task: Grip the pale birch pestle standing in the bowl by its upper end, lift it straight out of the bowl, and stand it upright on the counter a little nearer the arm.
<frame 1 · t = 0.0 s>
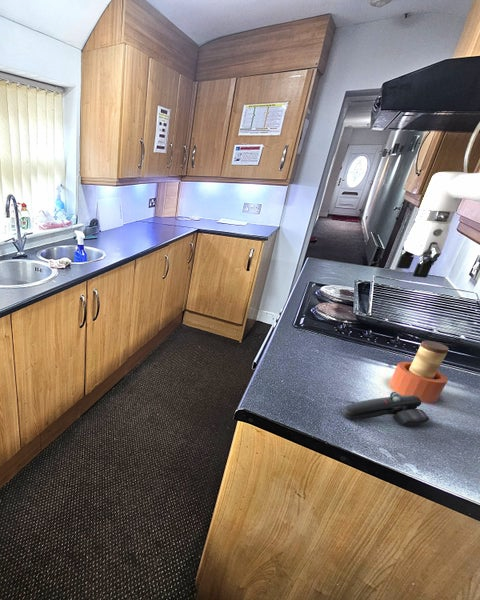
hand: (410, 272, 102), 24 cm above the worktop, tool pointing down, fingers open, 9 cm apart
can opener: (378, 417, 76), on the worktop
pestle: (411, 392, 84), point 1 cm above the worktop, touching bowl
bowl: (410, 394, 85), on the worktop
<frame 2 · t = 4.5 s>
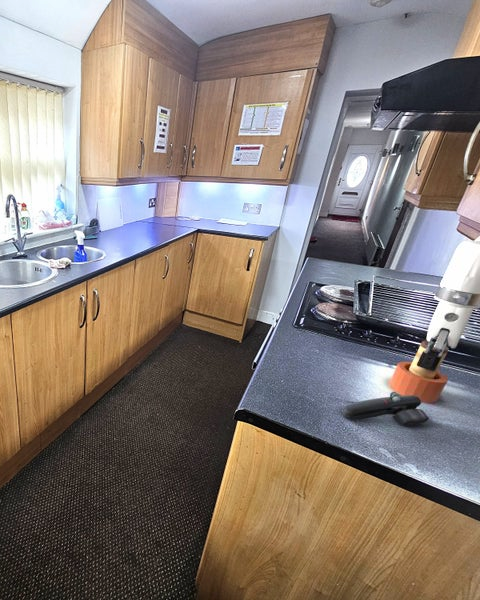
hand: (426, 363, 81), 9 cm above the worktop, tool pointing down, fingers closed on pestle, 4 cm apart
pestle: (411, 392, 84), point 1 cm above the worktop, touching gripper, bowl
everything else where it was.
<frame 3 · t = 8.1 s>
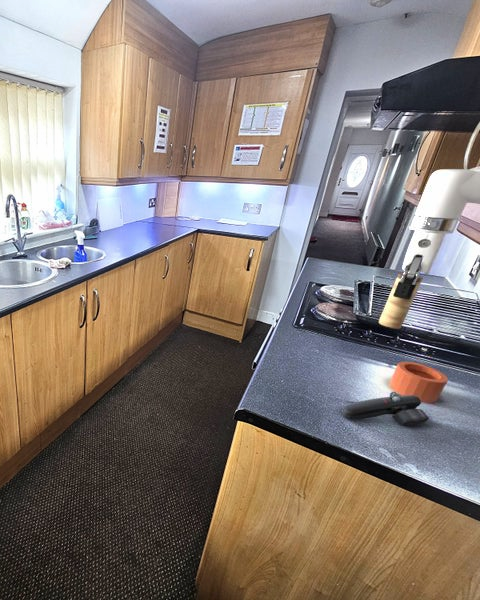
hand: (402, 294, 85), 24 cm above the worktop, tool pointing down, fingers closed on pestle, 4 cm apart
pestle: (389, 324, 88), point 15 cm above the worktop, touching gripper
everything else where it was.
when the fingers open (9 cm above the worktop, at t = 11.7 s): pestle stays where it is, on the worktop.
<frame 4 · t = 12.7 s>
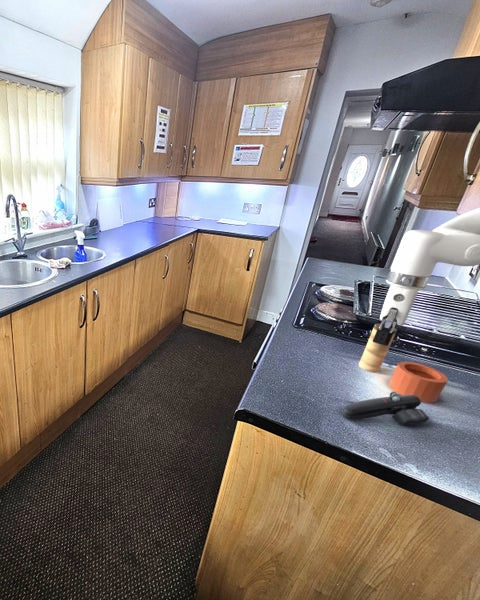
hand: (382, 337, 90), 11 cm above the worktop, tool pointing down, fingers open, 9 cm apart
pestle: (367, 370, 94), on the worktop
everything else where it was.
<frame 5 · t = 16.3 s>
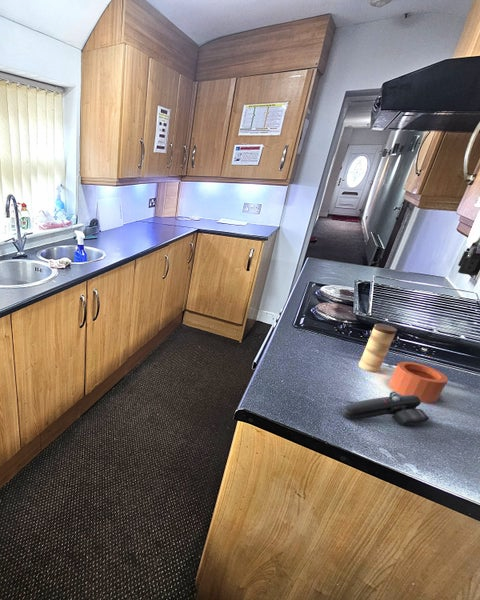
hand: (466, 270, 84), 30 cm above the worktop, tool pointing down, fingers open, 9 cm apart
nothing on the worktop moved.
at the end: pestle inside the target area (0.1 cm from its centre), on the worktop; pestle tilted 0°; the gripper is holding nothing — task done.
